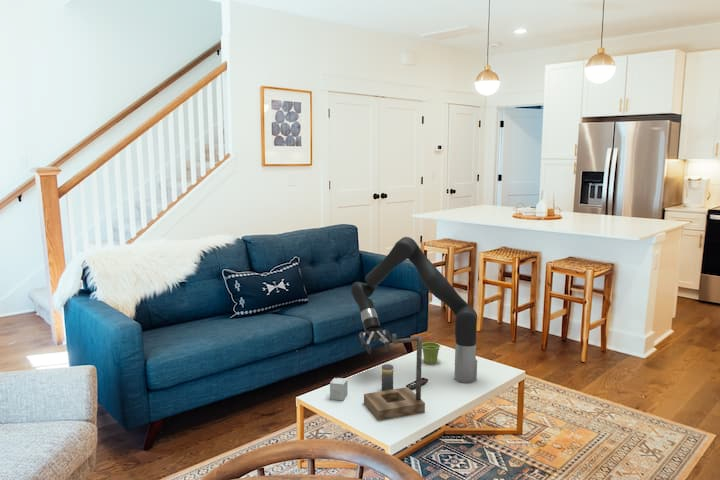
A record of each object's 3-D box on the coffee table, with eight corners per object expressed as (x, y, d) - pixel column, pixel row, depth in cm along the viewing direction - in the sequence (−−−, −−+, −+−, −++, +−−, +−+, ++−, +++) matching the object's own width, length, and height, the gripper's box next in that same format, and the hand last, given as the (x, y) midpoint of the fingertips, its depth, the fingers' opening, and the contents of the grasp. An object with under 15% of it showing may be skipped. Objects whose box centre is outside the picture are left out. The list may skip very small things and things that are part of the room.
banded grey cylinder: (390, 387, 243) (390, 363, 241) (395, 391, 238) (395, 367, 236) (379, 388, 241) (379, 365, 239) (384, 393, 236) (384, 369, 235)
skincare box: (343, 401, 229) (343, 384, 228) (329, 399, 231) (329, 382, 230) (347, 395, 235) (347, 378, 234) (334, 393, 237) (334, 377, 236)
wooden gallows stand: (407, 395, 234) (408, 322, 229) (424, 412, 220) (426, 334, 214) (363, 403, 227) (364, 327, 222) (378, 420, 213) (379, 340, 208)
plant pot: (434, 367, 266) (435, 350, 265) (417, 363, 271) (417, 346, 270) (443, 361, 274) (443, 344, 272) (426, 357, 279) (426, 340, 277)
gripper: (357, 317, 250) (366, 350, 241) (386, 314, 255) (396, 346, 246) (353, 325, 256) (362, 357, 247) (382, 322, 261) (391, 353, 252)
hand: (379, 352), depth 246 cm, fingers open, 8 cm apart
